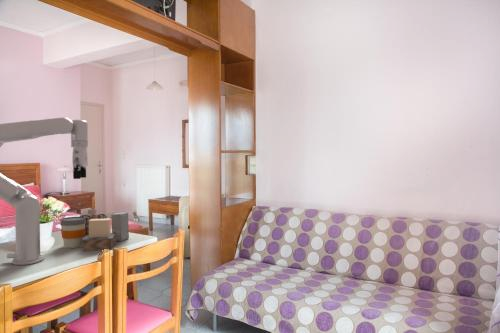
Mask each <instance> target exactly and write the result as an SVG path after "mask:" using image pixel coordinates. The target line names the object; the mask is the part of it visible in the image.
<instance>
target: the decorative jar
mask: <svg viewBox="0 0 500 333" xmlns="http://www.w3.org/2000/svg"><path fill="white" fill-rule="evenodd" d="M78 217H85V219H86V223H85V236H86V235H88V234H89V220H90V219H108V217H107V215H106V214H105V213H104V212H103V211H98V210H97V209H95V208H92V209H91V208H90V209H88V210H87V211H86V212H82V213H81V214H80V215H78ZM85 236H84V237H85ZM84 237H83V238H84Z"/></svg>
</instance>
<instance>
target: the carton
mask: <svg viewBox="0 0 500 333" xmlns="http://www.w3.org/2000/svg"><path fill="white" fill-rule="evenodd" d="M111 233H112V218H110V217H107V219H90V220H89V237H109V236H110V235H111Z"/></svg>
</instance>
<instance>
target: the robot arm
mask: <svg viewBox="0 0 500 333" xmlns="http://www.w3.org/2000/svg"><path fill="white" fill-rule="evenodd" d="M88 129H89V127H88V122H87V121H86V120H84V119H73V120H71V119H69V117H55V118H46V119H37V120H26V121H25V120H24V121H16V122H6V123H0V148H1V147H2V146H3V145H4V144H6V143H12V142H18V141H20V142H21V141H27V140H33V139H39V138H41V137H42V138H43V137H47V136H48V137H49V136H53V135H66V134H68V135H69V134H70V136H71V137H70V142H71V143H70V148H72V157H71V158H72V160H71V161H72V168H73V169H72V176H73V180H80V179H82V178H87V168H86V167H88V165H89V160H88V159H89V158H88V149H87V148H88V147H89V145H88V144H89V143H88V142H89V137H88V135H89V134H88V133H89V132H88ZM0 200H3V201H4V202H6V203H7V204H8V205H10V206H11V207H13V208H14V209H15V215H14V216H15V217H14V218H15V223H14V224H15V227H14V228H15V252H9V253H8V252H7V253H6V259H12V260H11V263H12V265H15V266H25V265H26V266H27V265H32V264H37V263H41V262H43V261H44V260H45V256H44V255H42V254H41V202H40V199H39V198H38V197H37V196H36V195H35V194H33V193H32V192H30V190H28V189H26V188H25V187H23V185H21V184H19V183H18V182H17V181H15V180H14V179H11V178H8V177H7V176H5V175H4V174H3V173H1V172H0Z"/></svg>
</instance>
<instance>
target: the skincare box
mask: <svg viewBox="0 0 500 333" xmlns="http://www.w3.org/2000/svg"><path fill="white" fill-rule="evenodd" d="M129 226H130V225H129V212H117V213H116V212H115V213H112V214H111V233H117V234H116V242H123V241H125V240H127V239H129V238H130V236H129V235H130V231H129V230H130V229H129Z"/></svg>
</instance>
